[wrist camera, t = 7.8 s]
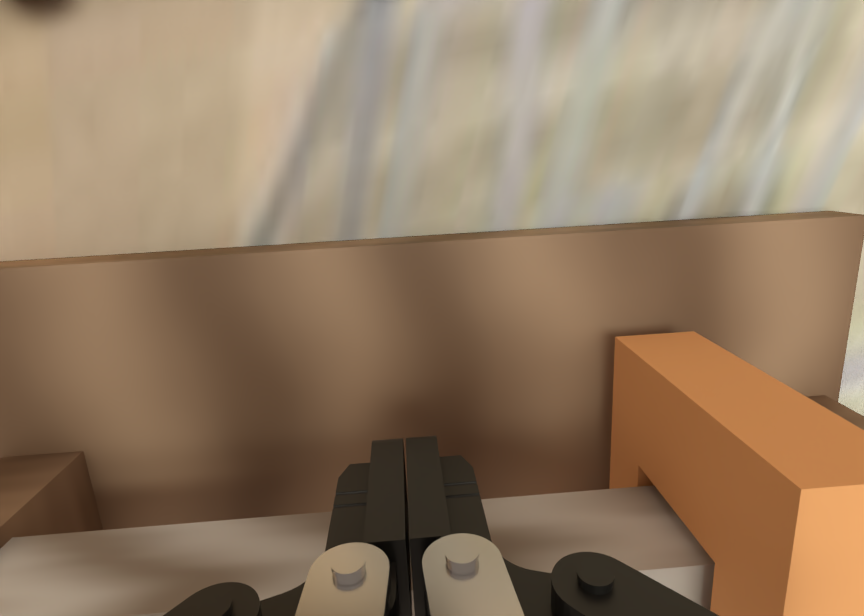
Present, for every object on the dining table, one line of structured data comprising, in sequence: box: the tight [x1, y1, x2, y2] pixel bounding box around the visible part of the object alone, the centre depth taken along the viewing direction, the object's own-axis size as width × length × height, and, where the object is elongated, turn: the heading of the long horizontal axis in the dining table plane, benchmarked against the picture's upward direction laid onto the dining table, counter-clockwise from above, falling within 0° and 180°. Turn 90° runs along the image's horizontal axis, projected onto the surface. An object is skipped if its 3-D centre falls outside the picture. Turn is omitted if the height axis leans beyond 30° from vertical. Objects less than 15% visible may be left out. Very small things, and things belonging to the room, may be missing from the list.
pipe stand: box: [0, 211, 864, 616], centre depth 15 cm, size 28×16×10 cm, turn 93°
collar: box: [609, 331, 864, 616], centre depth 14 cm, size 2×10×8 cm, turn 3°
